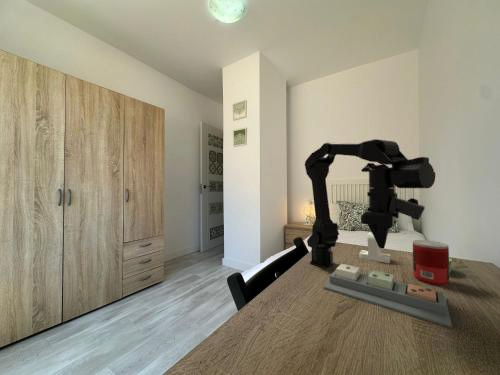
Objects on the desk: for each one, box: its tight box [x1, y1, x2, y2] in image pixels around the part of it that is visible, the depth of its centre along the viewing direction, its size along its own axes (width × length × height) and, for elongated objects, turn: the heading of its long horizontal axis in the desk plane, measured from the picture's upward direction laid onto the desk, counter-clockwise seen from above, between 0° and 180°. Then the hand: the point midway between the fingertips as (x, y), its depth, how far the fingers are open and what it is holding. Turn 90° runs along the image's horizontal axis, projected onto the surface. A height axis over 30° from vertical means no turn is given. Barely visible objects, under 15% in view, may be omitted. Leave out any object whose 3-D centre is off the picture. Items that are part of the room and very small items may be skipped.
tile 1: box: [335, 263, 361, 281], centre depth 58 cm, size 5×5×2 cm
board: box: [323, 269, 453, 329], centre depth 53 cm, size 25×14×2 cm, turn 49°
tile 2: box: [368, 270, 395, 291], centre depth 53 cm, size 5×5×2 cm
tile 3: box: [407, 283, 436, 302], centre depth 48 cm, size 5×5×2 cm
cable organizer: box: [358, 232, 391, 264], centre depth 79 cm, size 5×10×10 cm, turn 52°
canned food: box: [412, 239, 450, 287], centre depth 60 cm, size 8×8×11 cm
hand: (381, 248), depth 53 cm, fingers closed
